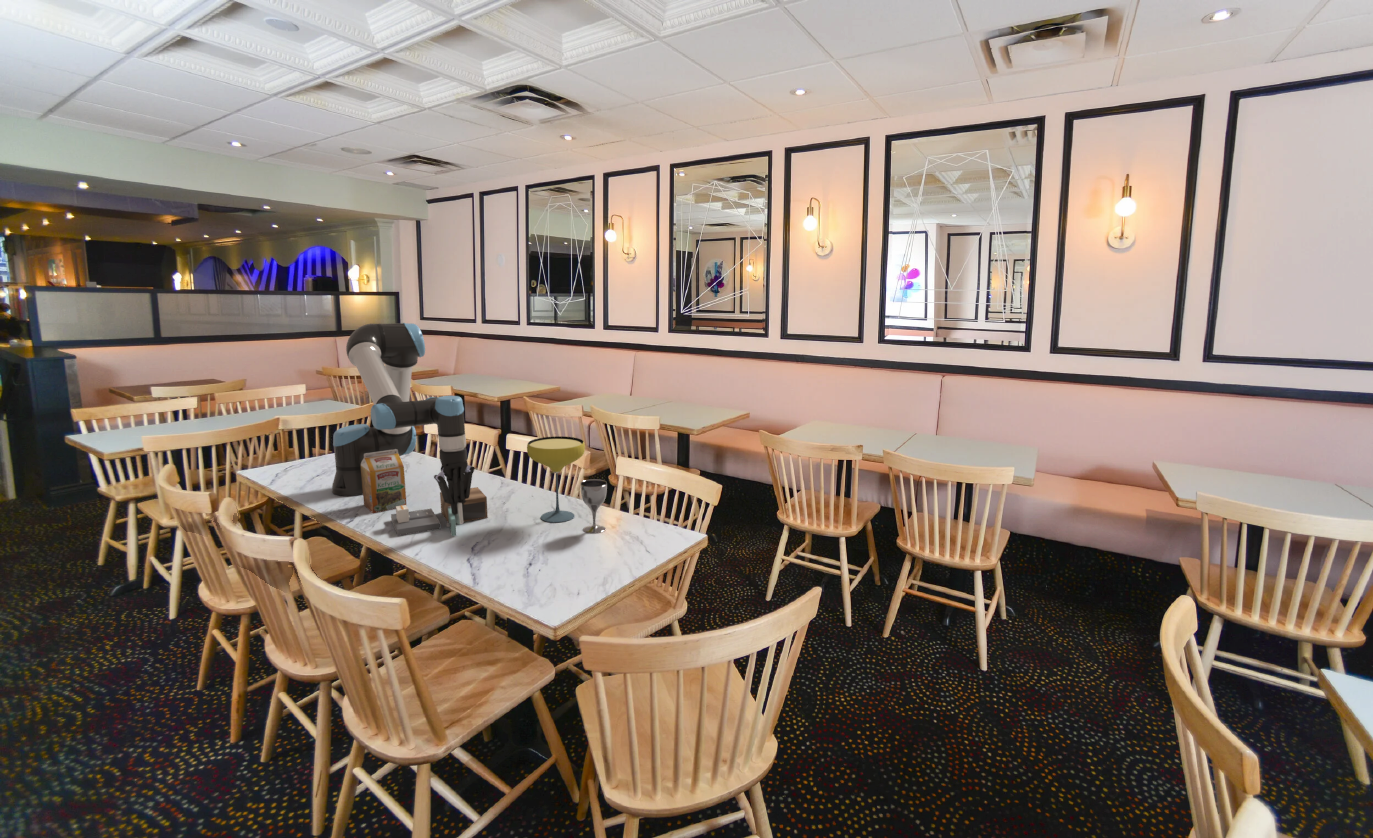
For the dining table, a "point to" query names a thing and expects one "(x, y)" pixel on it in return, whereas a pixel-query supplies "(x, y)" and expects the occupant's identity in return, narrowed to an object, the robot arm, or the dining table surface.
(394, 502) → the milk carton
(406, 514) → the fader knob
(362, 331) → the robot arm
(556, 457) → the cocktail glass
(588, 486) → the wine glass
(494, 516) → the dining table surface
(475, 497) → the box
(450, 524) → the rack door
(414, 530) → the mixer strip
